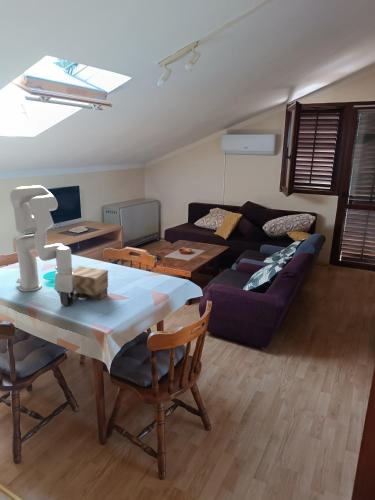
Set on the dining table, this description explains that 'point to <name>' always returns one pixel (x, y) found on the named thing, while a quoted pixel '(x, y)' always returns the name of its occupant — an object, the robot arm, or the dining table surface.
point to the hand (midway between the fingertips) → (66, 302)
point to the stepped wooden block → (91, 282)
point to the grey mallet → (65, 298)
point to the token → (82, 297)
